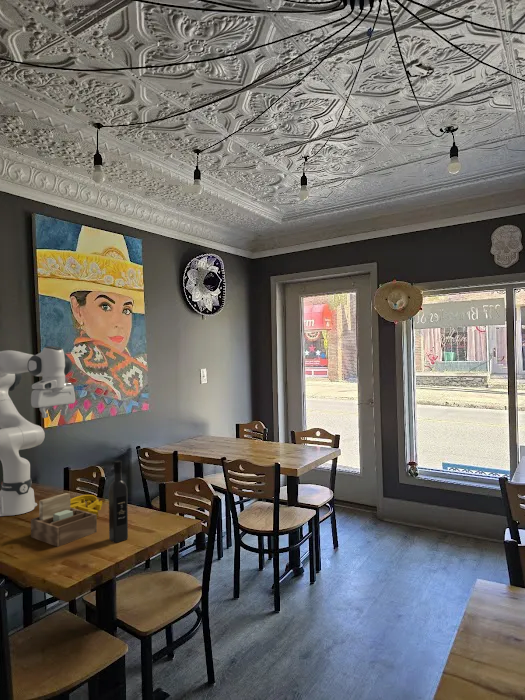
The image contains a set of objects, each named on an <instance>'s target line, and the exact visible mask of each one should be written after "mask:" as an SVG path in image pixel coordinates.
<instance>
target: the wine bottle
mask: <svg viewBox="0 0 525 700" xmlns="http://www.w3.org/2000/svg"><path fill="white" fill-rule="evenodd" d="M122 464H123V461H122V460H114V461H113V469H114V471H113V472H114V473H113V474H114V475H113V476H114V477H113V478H114V479H113V481H111V483H110V484H109V487H108V523H109V524H108V526H109V527H108V530H109V531H108V533H109V534H108V535H109V541H112V543H116V544H117V543H120V542H124V541H126V540H128V538H129V526H128V525H129V524H128V523H129V521H128V520H129V519H128V518H129V517H128V516H129V515H128V513H129V512H128V511H129V509H128V486H127V484H126V482H125V481H124V480H123V478H122V475H123V474H122V472H123V471H122V470H123V469H122V467H123V465H122Z"/></svg>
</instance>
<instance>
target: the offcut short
mask: <svg viewBox="0 0 525 700" xmlns="http://www.w3.org/2000/svg"><path fill="white" fill-rule="evenodd" d="M71 516H73V511H70V510H65V511H61V512H58V513H55V514H53V522H56V521H59V520H62V519H65V518H68V517H71Z"/></svg>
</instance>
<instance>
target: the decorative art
mask: <svg viewBox="0 0 525 700" xmlns="http://www.w3.org/2000/svg"><path fill="white" fill-rule="evenodd" d="M99 500H100V499H98V497H97V496H96V495H95V494H94V495H93V494H82V495H78V496H75V497H72V498H70V507H71V508H74V509H78V510H82V511H86V512H89V513H93V514H97V518H99V511H101V510H102V507H103V501H102V500H100V501H99Z"/></svg>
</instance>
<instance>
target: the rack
mask: <svg viewBox="0 0 525 700" xmlns="http://www.w3.org/2000/svg"><path fill="white" fill-rule="evenodd" d="M70 511H73V516H71V517H68V518H65V519H62V520H59V521H56V522H53V517H51V518H48V519H44V520H41V521H40V520H39V516H36V517H34V518H30V538H32V539H35V540H38V541H41V542H44V543H46V544H48V545H52V546H54V547H57V548H58V547H61V546H64V545H66V544H68V543H71V542H74V541H76V540H79V539H82V538H84V537H87V536H90V535H92V534H95V533H97V532H98V531H97V526H98V525H97V520H98V517H97V514H93V513H89V512H86V511H82V510H78V509H74V508H71V507H70ZM51 522H53V523H51Z"/></svg>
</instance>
